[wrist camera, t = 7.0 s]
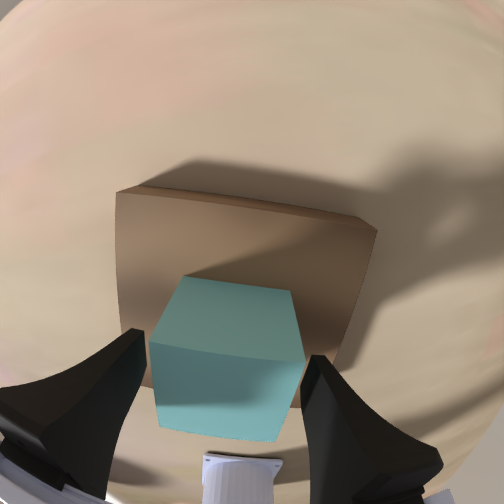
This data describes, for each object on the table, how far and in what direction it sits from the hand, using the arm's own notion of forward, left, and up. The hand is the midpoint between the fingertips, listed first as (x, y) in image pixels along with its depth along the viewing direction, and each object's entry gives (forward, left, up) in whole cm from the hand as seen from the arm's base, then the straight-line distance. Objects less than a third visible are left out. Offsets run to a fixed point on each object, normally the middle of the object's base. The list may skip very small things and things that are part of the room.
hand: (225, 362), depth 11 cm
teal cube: (0, 0, -3) cm, 3 cm away
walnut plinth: (0, 0, -5) cm, 5 cm away
